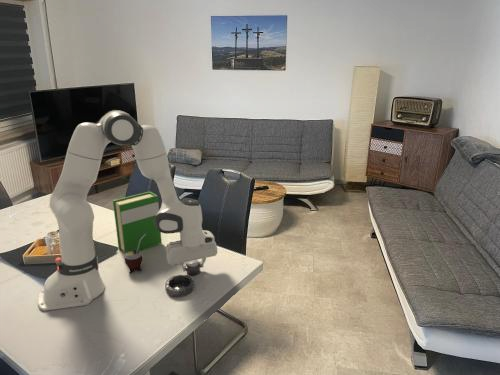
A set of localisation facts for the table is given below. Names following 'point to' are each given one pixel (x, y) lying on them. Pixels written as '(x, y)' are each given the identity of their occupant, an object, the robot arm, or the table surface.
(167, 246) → the robot arm
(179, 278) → the grey ashtray
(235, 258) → the table surface
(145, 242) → the hardback book
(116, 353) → the table surface
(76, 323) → the table surface
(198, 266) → the cap
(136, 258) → the mate gourd
